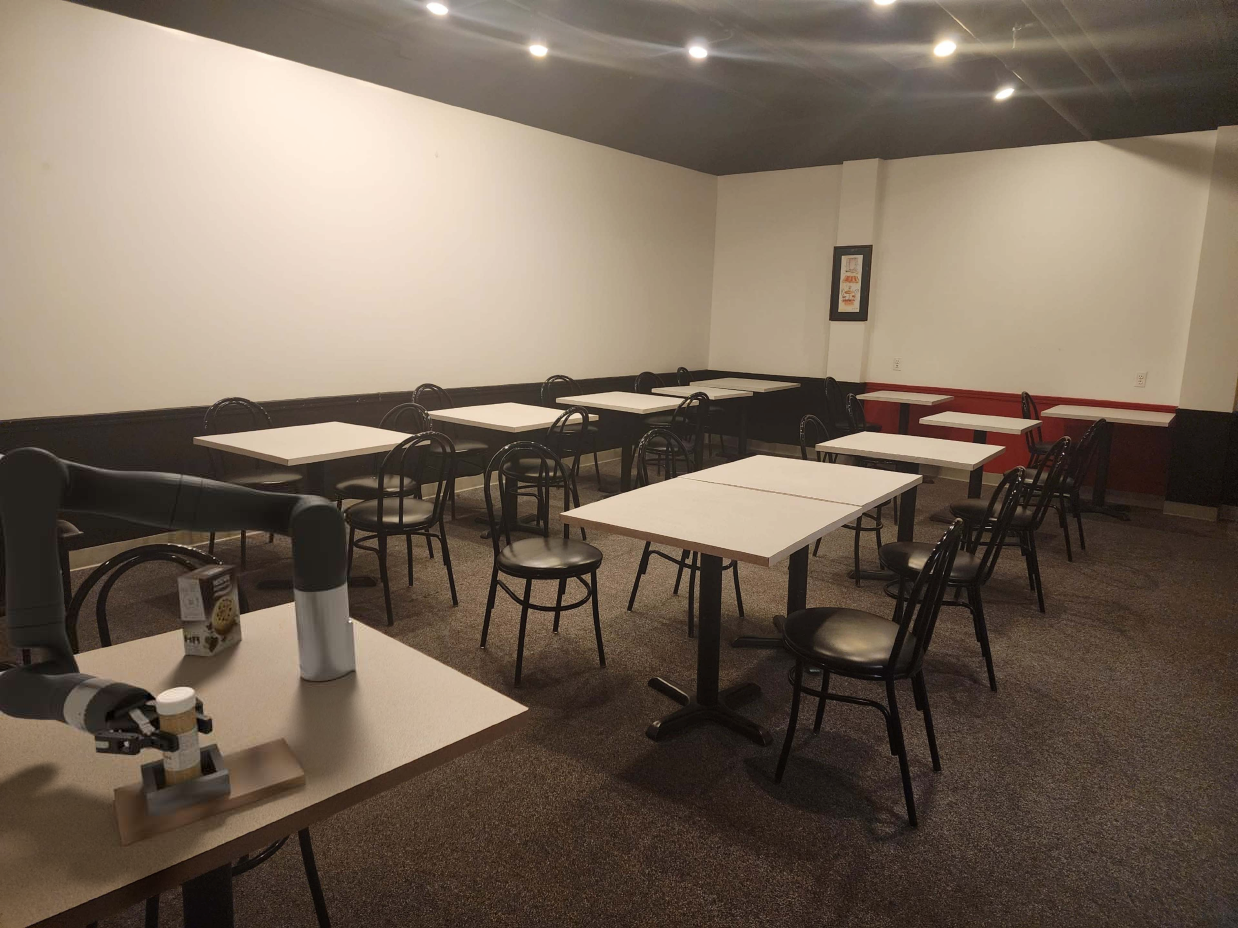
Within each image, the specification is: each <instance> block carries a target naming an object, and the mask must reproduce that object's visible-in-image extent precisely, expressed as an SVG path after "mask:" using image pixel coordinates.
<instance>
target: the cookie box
mask: <svg viewBox="0 0 1238 928" xmlns="http://www.w3.org/2000/svg"><path fill="white" fill-rule="evenodd" d="M237 582H238V581H237V571H236V565H233V564H232V565H231V564H229V565H228V564H207V565H205V566H202V567H200V568H198V569H196V570H193V571H190V572H188V573H185V574H183V575H181V576H178V577H177V583H178V595H179V604H180V605H179V606H180V617H181V625H182V638H183V646H184V647H183V648H184V654H185V655H191V656H192V655H193V656H201V657H206V658H207V657H213V656H215V655H217V654H219V653H220V652H222V651H224V650H225V649H228V648H229V647H231V646H233V645H234V644H236V643H238V642H240V641H241V640H243V637H242V628H241V627H242V625H241V615H240V605H239V604H240V603H239V594H238V593H239V592H238V583H237Z"/></svg>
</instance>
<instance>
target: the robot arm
mask: <svg viewBox="0 0 1238 928" xmlns="http://www.w3.org/2000/svg"><path fill="white" fill-rule="evenodd" d="M61 511H62V512H77V513H91V514H97V515H98V514H99V515H104V516H109V517H113V518H118V519H122V520H126V521H130V522H134V523H139V524H143V525H147V526H153V527H158V528H163V529H164V528H165V529H170V530H172V529H173V530H178V531H186V532H191V533H192V532H193V533H226V532H228V533H229V532H239V531H242V532H243V531H252V532H263V533H266V534H267V533H269V534H274V535H278V536H282V537H286V538H290V540H291V542H290V543H291V553H292V585H293V598H294V609H295V611H294V612H295V622H296V625H295V626H296V636H297V649H298V662H299V663H298V666H299V674H300V677H301V678H302V679H304V680H307V681H311V682H324V681H330V680H334V679H338V678H341V677H343V676H345V675H347V674H348V673H350V672H352V671H356V670H357V663H356V651H355V650H356V649H355V636H354V635H355V633H354V624H353V621H352V620H351V619H350V612H349V611H350V609H349V596H348V595H349V594H348V582H347V581H348V580H347V579H348V578H347V571H348V561H349V560H348V545H347V544H348V542H347V539H348V537H347V527H346V526H347V525H346V521H345V517H344V515H343V514H342V512H341V511H340V509H339V508H338V507H337V505H336V504H335V503H334V501H331V500H330V499H328V498H326V497H324V496H319V495H311V494H293V493H283V492H282V493H281V492H270V491H264V490H258V489H253V488H250V487H245V486H242V485H237V484H233V483H229V482H224V481H217V480H213V479H208V478H204V477H198V476H193V475H186V474H180V473H172V472H159V471H136V470H132V471H131V470H130V471H129V470H128V471H126V470H110V469H104V468H98V467H96V466H95V467H94V466H89V465H86V464H81V463H78V462H72V461H70V460H65V459H62V458H59V457H58V456H56V455H55V454H54V453H51V452H50V451H48V450H46V449H42V448H39V447H32V446H31V447H30V446H29V447H20V448H15V449H13V450H10V451H8V452H7V453H5V454H4V455H2V456H1V457H0V517H1V523H2V529H3V538H4V545H5V547H4V548H5V622H6V623H5V625H6V626H5V627H6V640H7V644H8V646H10V647H11V648H12V649H13V648H14V649H23V650H28V649H30V650H31V649H32V650H36V651H37V653H38V654H39V656H40V658H41V661H39V662H36V663H34V662H33V663H29V664H24V665H19V666H15V667H11V668H9V669H7V670H5V671H3V672H2V673H1V674H0V712H1V713H2V714H3V715H6V716H9V717H12V718H15V719H22V720H35V721H36V720H37V721H56V722H60V723H63V724H66V725H68V726H71V727H74V728H75V729H77V730H78V731H80V732H83V733H86V734H88V735H91V736H93V737H94V746H95V753H98V754H109V755H110V754H111V755H123V756H136V755H139V754H141V751H142V750H143V749H145V750H153V749H154V750H159V751H161V752H162V751H164V752H168V751H169V752H172V753H174V752H176V751H178V750H179V738H178V736H177V735H175V734H172V733H168V732H165V731H162V730H161V728H160V719H159V714H158V712H157V708H156V698H157V697H155V695H153V694H152V693H151V692H150V691H149V690H148V689H145V688H142V687H139V686H135V685H133V684H132V685H131V684H128V683H126V682H122V681H119V680H114V679H110V678H101V677H97V676H95V675H91V674H87V673H82V672H81V671H80V668H79V666H78V663H77V660H76V658H75V655H74V653H73V650H72V648H71V645H70V641H69V638H68V635H67V632H66V627H65V626H66V625H65V598H64V595H65V594H64V585H63V575H62V571H61V563H60V557H59V549H58V517H59V512H61ZM195 698H196V704H195V705H196V706H195V712H196V722H197V727H198V733H199V734H200V733H201V734H203V735H208V734H211V733H212V732H213V728H214V727H213V726H214V725H213V717H211V716H209V715H206V714H204V713H205V712H204V702H203V701H202V700H201V699H199V698H198V697H197V696H196V695H195ZM125 743H127V744H128V745H125Z"/></svg>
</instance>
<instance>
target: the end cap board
mask: <svg viewBox="0 0 1238 928" xmlns="http://www.w3.org/2000/svg"><path fill="white" fill-rule="evenodd" d="M200 765H201V773H202V775H203V777H201V778H197V779H194V780H191V781H188V782H184V783H181V784H178V785H175V786H172V787H168V788H166V787H165V784H166V777H165V768H164V763H163V758H160V759H157V760H154V761H150V762H147V763H144V764H141V765H140V767H139V768H140V774H141V780H139V781H136V782H132V783H129V784H126V785H122V786H120V787H116V788H114V789H113V794H114V795H113V796H114V802H115V809H116V815H117V822H118V829H119V835H120V842H121V847H124V846H126V845H129V844H132V843H136V842H138V841H142V840H144V839H147V838H150V837H153V836H156V835H159V834H161V833H166V832H168V831H171V830H175V829H176V828H179V827H182V826H185V825H188V824H191V823H193V822H197V821H200V820H202V819H203V820H204V819H206V818H209V817H212V816H215V815H218V814H221V813H224V812H226V811H229V810H232V809H234V808H235V809H236V808H238V807H241V806H243V805H246V804H250V803H252V802H256V801H258V800H262V799H264V798H268V797H270V796H274V795H276V794H279V793H282V792H285V791H288V790H291V789H294V788H297V787H299V786H300V787H301V786H302V785H306V783H307V782H306V774H305V772H304V770H303V768H302V766H301V765H300V763H299V762H298V760H297V758H296V756H295V754H294V753H293V752H292V749H291V748H290V746H289V744H288V742H287V741H286V739H285V738H284V737H281V738H279V739H276V740H272V741H268V742H265V743H262V744H259V745H256V746H251V747H248V748H244V749H241V750H239V751H235V752H232V753H229V754H225V755H222V753H221V751H220V749H219V746H218V743H217V742H216V743H212V744H208V745H204V746H201V747H200Z"/></svg>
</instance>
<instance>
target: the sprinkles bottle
mask: <svg viewBox="0 0 1238 928" xmlns="http://www.w3.org/2000/svg"><path fill="white" fill-rule="evenodd" d="M195 696H196V692H195V690H194V689H193V688H192V687H188V686H180V687H179V686H178V687H174V688H170V689H167V690H165V691H163V692H161V693H160V694H159V695H157V696H156V697H155V698H156V708H157V712H158V714H159V719H160V728H161V730H162V731H165V732H168V733H172V734H175V735H177V736H178V738H179V750H178V751H176V752H174V753H172V752H169V751H168V752H164V751H161V753H162V759H163V763H164V768H165V777H166V784H165V787H166V788H168V787H172V786H175V785H178V784H181V783H184V782H188V781H191V780H194V779H197V778H201V777H203V775H202V773H201V765H200V748H201V747H200V737H199V732H198V727H197V722H196V712H195V706H196V705H195V704H196V698H195Z"/></svg>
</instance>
